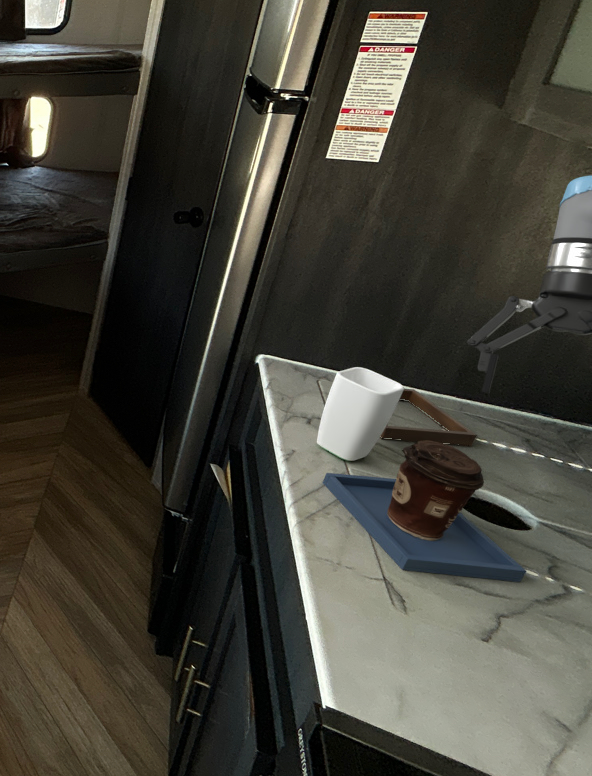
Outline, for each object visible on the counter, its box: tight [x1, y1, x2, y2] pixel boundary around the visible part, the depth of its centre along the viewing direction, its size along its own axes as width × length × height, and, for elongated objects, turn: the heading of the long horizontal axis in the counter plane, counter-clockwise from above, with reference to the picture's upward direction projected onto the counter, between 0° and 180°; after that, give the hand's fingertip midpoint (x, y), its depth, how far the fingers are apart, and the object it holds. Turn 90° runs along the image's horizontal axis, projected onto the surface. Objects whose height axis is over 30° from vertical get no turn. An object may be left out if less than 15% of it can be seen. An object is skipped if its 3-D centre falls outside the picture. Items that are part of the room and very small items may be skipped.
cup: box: [316, 366, 405, 462], centre depth 109 cm, size 7×7×15 cm
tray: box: [322, 472, 527, 583], centre depth 95 cm, size 18×15×2 cm
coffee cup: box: [387, 440, 485, 541], centre depth 92 cm, size 9×8×13 cm
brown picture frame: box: [379, 388, 478, 447], centre depth 120 cm, size 15×15×2 cm
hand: (549, 406), depth 98 cm, fingers open, 13 cm apart
